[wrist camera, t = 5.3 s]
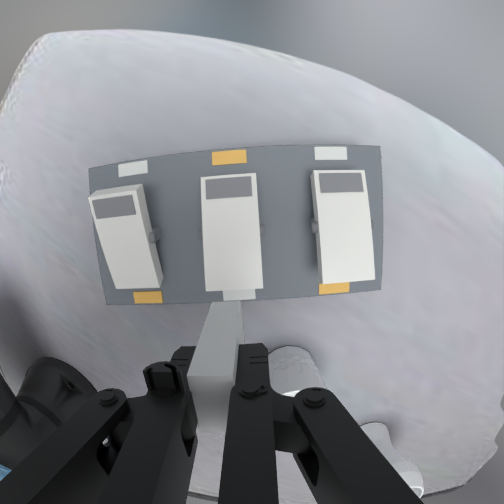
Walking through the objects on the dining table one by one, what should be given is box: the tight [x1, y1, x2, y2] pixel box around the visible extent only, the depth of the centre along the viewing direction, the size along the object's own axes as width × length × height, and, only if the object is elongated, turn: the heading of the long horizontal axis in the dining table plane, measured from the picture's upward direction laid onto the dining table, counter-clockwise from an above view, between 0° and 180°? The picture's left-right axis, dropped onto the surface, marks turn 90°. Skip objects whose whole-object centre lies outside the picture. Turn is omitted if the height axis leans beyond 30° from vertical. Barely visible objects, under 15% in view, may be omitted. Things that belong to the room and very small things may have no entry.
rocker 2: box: [198, 173, 265, 291], centre depth 24 cm, size 5×9×2 cm, turn 4°
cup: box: [360, 422, 424, 498], centre depth 33 cm, size 11×11×15 cm
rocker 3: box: [310, 170, 375, 284], centre depth 24 cm, size 5×9×2 cm, turn 4°
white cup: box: [268, 346, 327, 397], centre depth 32 cm, size 8×8×10 cm
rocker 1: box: [88, 184, 164, 289], centre depth 24 cm, size 5×9×2 cm, turn 4°
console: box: [89, 145, 383, 305], centre depth 29 cm, size 28×14×8 cm, turn 94°
